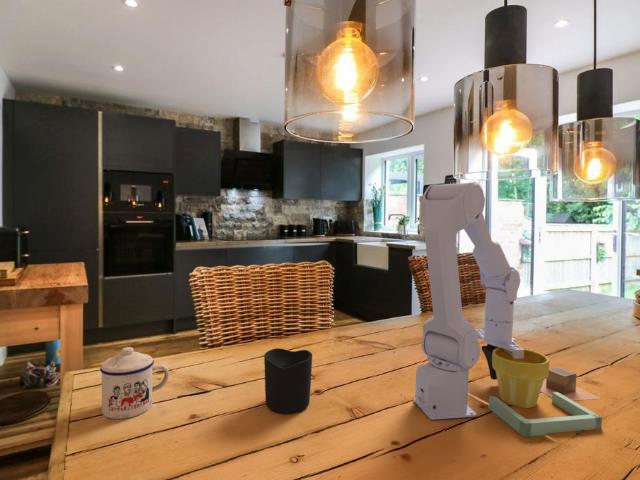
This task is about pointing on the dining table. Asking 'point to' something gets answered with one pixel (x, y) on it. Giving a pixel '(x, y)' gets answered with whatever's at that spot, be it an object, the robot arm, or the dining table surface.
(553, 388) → the walnut block
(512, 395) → the plant pot
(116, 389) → the teacup with lid
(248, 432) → the dining table surface
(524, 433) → the frame
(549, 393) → the terracotta mat
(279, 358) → the pen holder
